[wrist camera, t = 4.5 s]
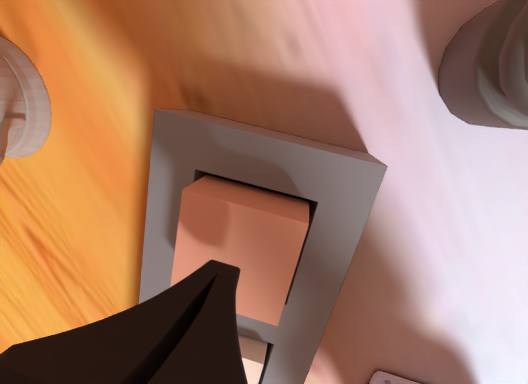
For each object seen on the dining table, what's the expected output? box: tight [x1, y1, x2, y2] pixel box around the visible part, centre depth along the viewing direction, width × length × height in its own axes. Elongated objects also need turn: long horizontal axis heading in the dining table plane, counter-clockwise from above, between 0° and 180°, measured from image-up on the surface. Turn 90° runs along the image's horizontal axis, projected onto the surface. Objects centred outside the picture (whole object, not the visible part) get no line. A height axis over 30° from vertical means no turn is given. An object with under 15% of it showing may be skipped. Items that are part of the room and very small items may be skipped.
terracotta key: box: [170, 175, 309, 326], centre depth 14 cm, size 6×6×3 cm
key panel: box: [139, 109, 388, 384], centre depth 18 cm, size 12×22×4 cm, turn 168°
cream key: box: [238, 333, 268, 384], centre depth 18 cm, size 6×6×3 cm
